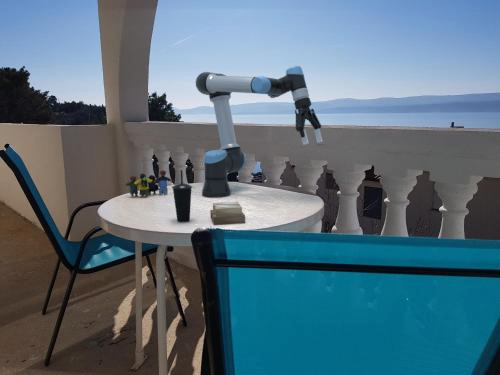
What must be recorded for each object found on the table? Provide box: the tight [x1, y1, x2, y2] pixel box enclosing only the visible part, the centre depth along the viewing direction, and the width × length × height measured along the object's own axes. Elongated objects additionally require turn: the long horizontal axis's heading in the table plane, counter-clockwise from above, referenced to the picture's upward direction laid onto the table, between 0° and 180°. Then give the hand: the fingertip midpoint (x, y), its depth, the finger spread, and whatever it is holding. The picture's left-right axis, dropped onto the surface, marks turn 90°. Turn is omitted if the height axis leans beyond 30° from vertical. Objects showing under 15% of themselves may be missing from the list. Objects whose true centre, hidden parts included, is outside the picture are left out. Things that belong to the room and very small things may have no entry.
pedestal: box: [209, 201, 246, 226], centre depth 146 cm, size 12×12×6 cm
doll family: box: [125, 169, 173, 199], centre depth 192 cm, size 23×9×13 cm, turn 131°
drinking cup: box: [171, 169, 193, 223], centre depth 144 cm, size 8×8×20 cm
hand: (313, 143), depth 173 cm, fingers open, 13 cm apart
